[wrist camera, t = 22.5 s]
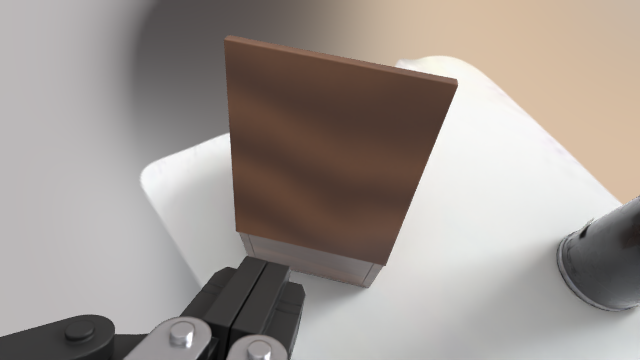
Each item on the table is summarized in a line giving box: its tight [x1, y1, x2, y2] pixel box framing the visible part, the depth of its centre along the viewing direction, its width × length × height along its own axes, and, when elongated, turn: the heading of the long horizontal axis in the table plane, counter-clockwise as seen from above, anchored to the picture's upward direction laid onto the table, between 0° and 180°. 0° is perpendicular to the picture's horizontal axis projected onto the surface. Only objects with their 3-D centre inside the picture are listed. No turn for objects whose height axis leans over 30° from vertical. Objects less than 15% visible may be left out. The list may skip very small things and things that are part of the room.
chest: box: [239, 232, 383, 288], centre depth 41 cm, size 17×14×9 cm
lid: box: [224, 35, 458, 266], centre depth 27 cm, size 18×14×1 cm
